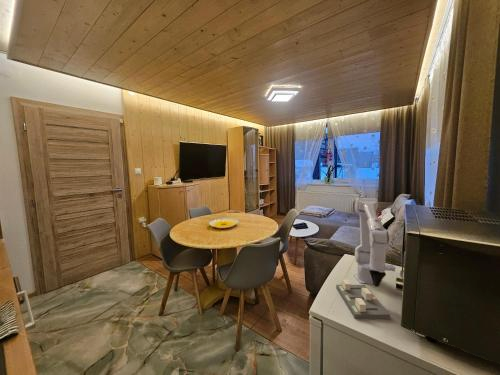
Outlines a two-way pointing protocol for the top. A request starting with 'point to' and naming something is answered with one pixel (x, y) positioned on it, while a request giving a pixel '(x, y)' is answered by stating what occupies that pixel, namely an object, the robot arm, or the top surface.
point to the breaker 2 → (360, 304)
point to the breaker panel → (372, 306)
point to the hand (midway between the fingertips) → (375, 285)
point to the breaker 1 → (346, 284)
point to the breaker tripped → (366, 294)
